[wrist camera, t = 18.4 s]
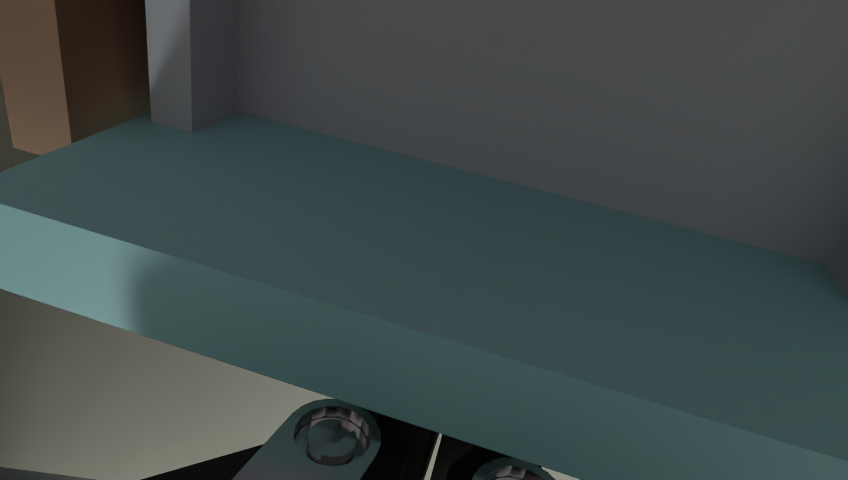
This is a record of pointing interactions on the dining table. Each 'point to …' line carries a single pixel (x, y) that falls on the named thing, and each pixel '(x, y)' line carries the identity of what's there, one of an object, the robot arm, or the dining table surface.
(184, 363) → the dining table surface
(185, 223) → the drawer
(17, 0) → the cubby
